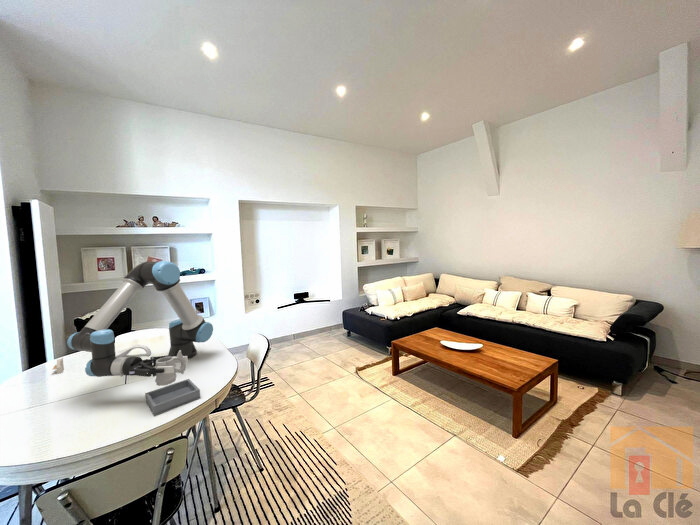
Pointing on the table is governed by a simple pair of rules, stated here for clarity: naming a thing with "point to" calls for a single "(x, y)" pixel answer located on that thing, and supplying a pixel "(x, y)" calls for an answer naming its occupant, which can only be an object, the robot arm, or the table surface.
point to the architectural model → (59, 366)
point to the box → (172, 396)
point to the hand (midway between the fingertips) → (180, 364)
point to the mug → (169, 377)
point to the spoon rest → (124, 352)
